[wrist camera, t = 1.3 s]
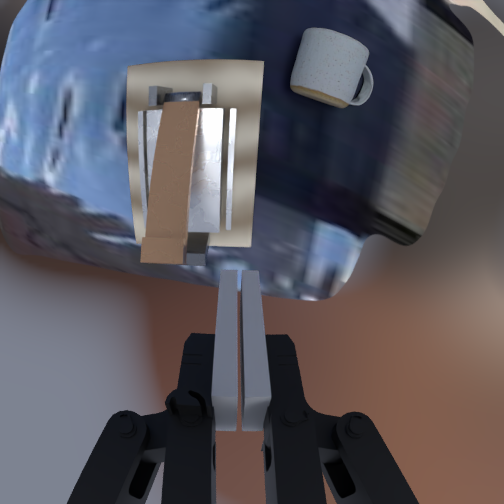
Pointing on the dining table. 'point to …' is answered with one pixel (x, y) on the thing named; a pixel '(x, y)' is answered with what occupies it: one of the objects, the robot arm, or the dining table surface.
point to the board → (246, 134)
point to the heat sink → (194, 168)
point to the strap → (172, 180)
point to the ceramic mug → (331, 68)
